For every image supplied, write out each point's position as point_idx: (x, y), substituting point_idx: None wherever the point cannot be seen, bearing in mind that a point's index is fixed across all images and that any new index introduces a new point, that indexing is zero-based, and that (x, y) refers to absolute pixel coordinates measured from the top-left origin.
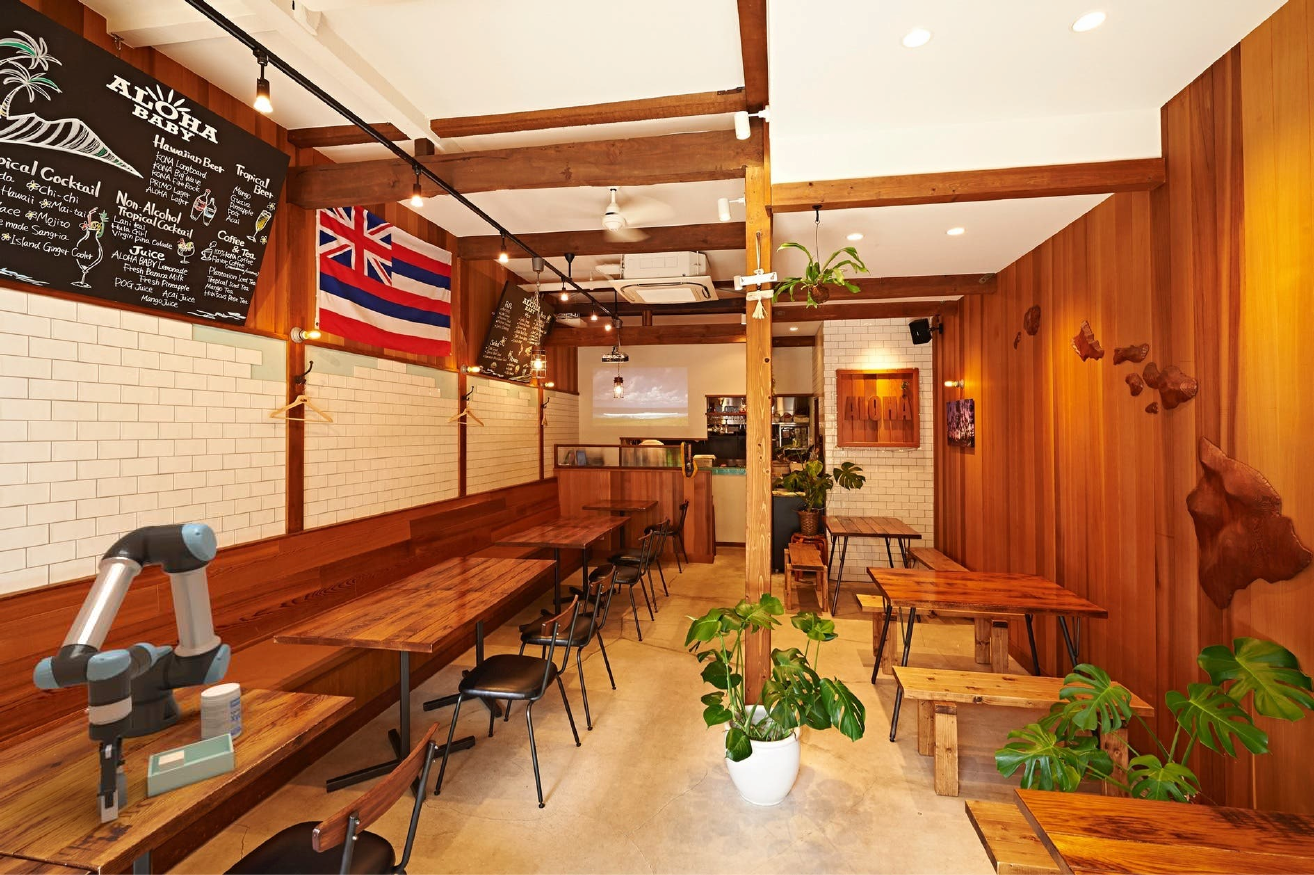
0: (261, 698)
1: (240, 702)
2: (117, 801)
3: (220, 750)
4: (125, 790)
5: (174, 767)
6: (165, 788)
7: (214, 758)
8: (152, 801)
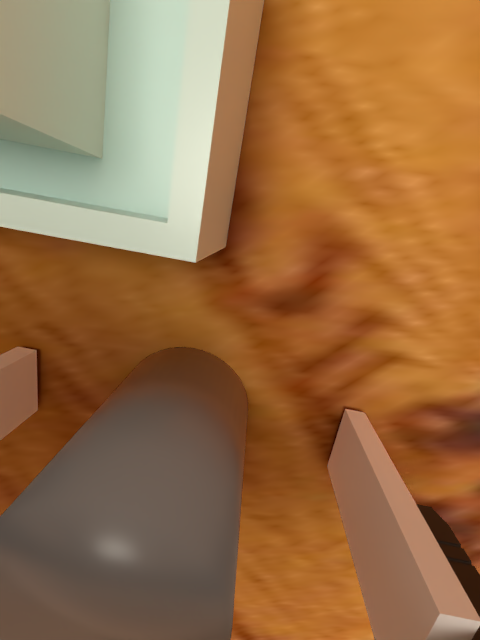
0: None
1: None
2: (397, 491)
3: None
4: (194, 408)
5: None
6: (241, 130)
7: None
8: (311, 234)
